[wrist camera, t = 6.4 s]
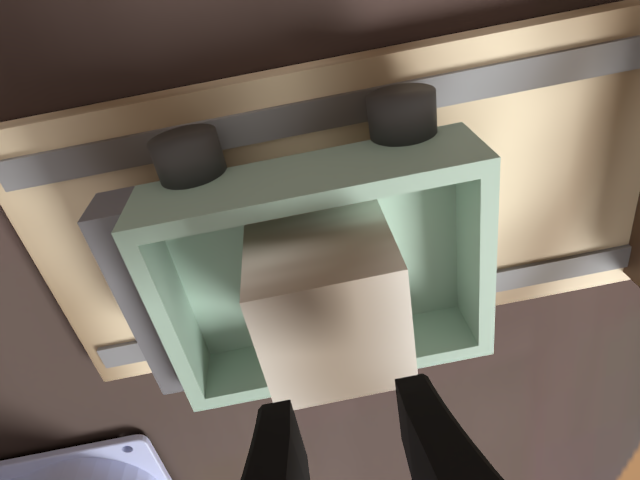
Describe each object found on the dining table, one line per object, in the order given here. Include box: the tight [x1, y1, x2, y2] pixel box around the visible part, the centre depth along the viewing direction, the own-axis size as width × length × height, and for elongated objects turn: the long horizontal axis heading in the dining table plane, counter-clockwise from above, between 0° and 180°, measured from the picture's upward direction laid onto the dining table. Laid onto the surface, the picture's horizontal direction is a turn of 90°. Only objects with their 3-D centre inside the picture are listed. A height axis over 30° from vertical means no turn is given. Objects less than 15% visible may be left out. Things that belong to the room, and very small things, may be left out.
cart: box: [77, 83, 501, 412], centre depth 16 cm, size 11×9×4 cm
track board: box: [0, 0, 640, 382], centre depth 17 cm, size 24×11×4 cm, turn 99°
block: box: [239, 199, 418, 410], centre depth 14 cm, size 4×4×4 cm
